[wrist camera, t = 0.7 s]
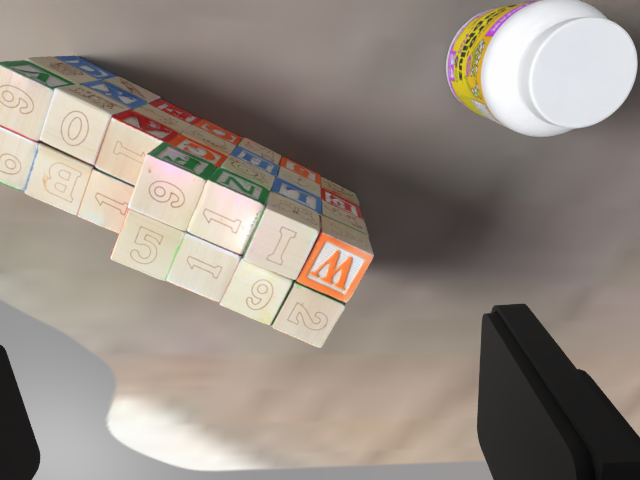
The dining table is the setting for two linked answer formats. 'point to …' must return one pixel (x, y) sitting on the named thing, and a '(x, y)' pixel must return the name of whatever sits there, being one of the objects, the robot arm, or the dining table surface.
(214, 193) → the stack of blocks
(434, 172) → the dining table surface
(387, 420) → the dining table surface
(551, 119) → the supplement bottle
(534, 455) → the robot arm
